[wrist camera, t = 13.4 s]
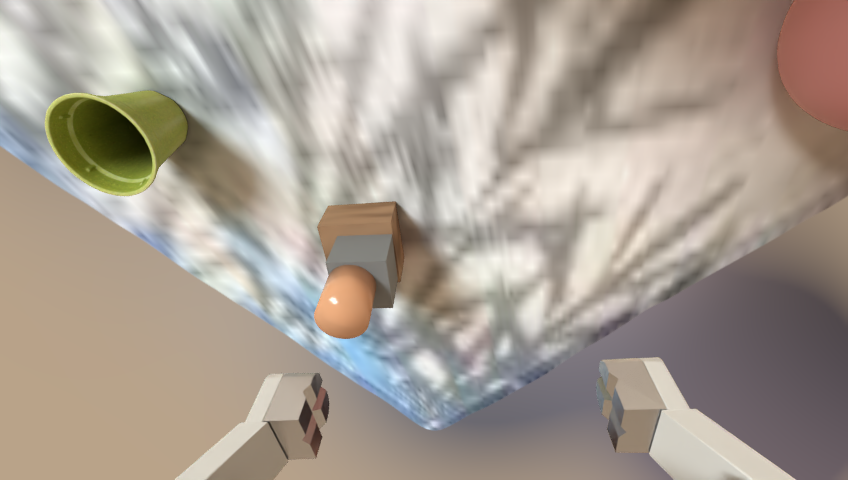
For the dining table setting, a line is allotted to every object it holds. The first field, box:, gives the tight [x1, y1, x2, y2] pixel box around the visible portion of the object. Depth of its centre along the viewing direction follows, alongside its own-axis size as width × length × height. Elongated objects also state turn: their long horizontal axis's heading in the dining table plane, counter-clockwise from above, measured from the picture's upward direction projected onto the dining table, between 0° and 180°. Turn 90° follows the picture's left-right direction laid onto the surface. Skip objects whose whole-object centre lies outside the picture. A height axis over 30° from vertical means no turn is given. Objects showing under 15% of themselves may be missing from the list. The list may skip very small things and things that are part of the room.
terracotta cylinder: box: [314, 265, 376, 339], centre depth 40 cm, size 5×5×5 cm
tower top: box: [326, 234, 398, 308], centre depth 44 cm, size 6×6×5 cm
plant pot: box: [45, 91, 188, 196], centre depth 40 cm, size 9×9×9 cm
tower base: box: [317, 202, 404, 282], centre depth 48 cm, size 8×8×5 cm
